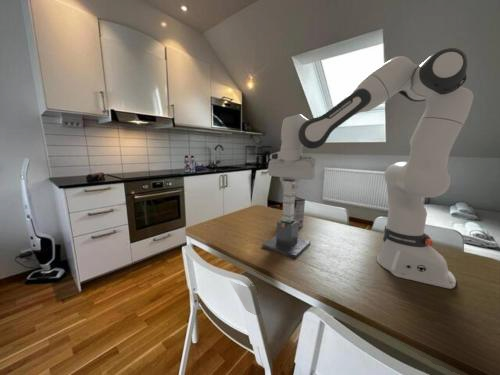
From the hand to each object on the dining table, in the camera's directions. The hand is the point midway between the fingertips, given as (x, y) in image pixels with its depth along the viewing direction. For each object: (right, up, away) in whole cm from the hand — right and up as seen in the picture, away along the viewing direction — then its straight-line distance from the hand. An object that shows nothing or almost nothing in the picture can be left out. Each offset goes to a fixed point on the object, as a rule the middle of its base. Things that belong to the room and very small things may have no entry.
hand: (289, 188), depth 88 cm
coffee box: (+9, -22, +31) cm, 39 cm away
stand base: (0, -26, +5) cm, 27 cm away
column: (0, -19, +3) cm, 19 cm away
